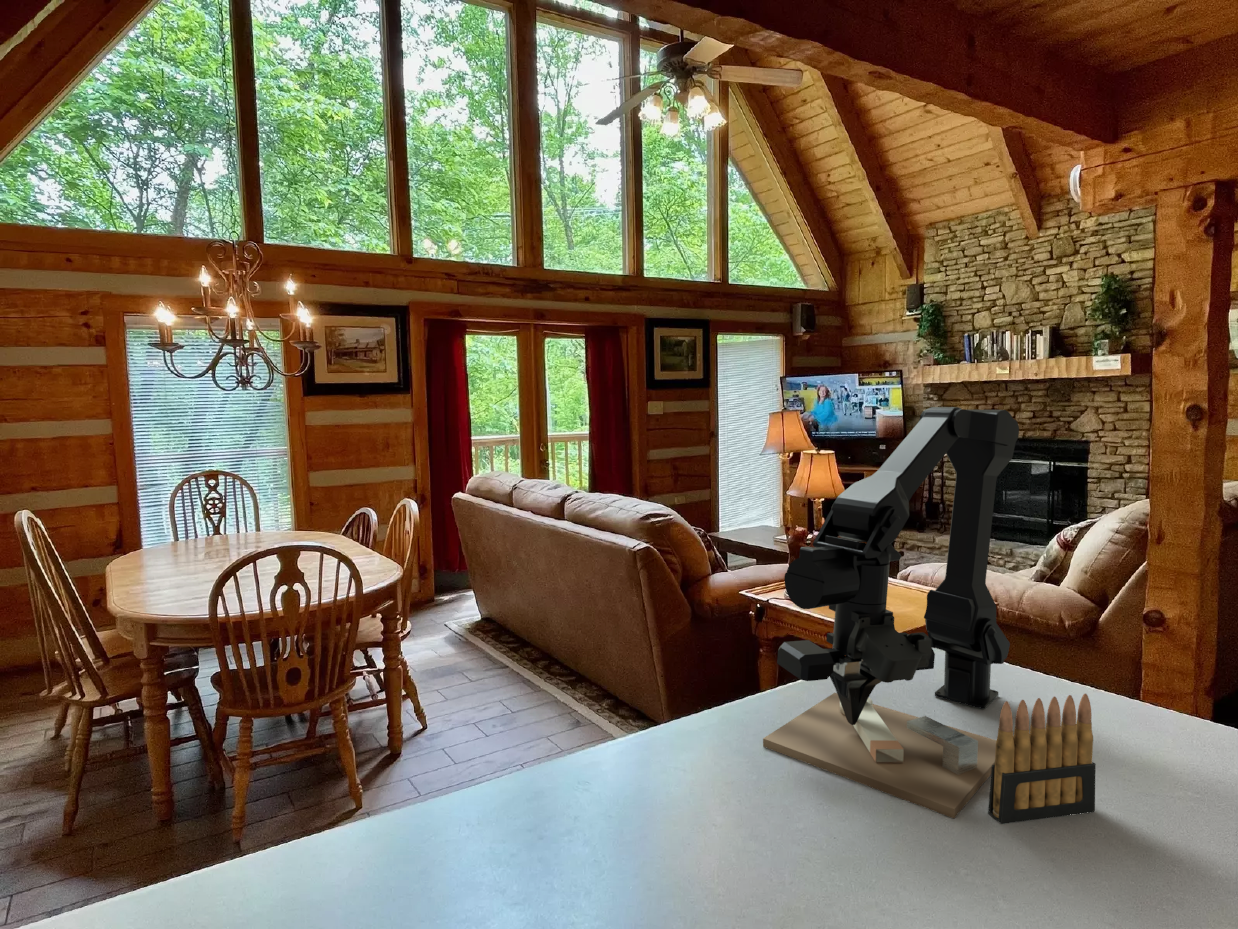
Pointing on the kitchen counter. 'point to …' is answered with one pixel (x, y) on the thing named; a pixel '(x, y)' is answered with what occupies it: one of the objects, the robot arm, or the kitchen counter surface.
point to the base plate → (916, 779)
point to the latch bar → (877, 735)
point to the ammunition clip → (1043, 763)
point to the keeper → (948, 744)
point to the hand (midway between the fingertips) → (851, 723)
